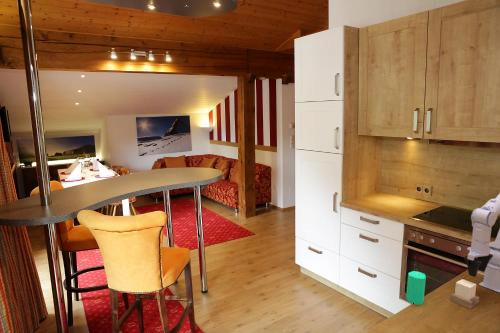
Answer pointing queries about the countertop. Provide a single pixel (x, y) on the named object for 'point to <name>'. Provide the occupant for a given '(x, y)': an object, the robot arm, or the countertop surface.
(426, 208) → the countertop surface
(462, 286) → the block
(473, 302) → the stand
